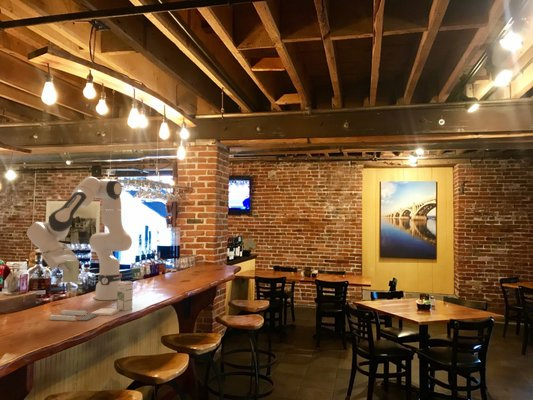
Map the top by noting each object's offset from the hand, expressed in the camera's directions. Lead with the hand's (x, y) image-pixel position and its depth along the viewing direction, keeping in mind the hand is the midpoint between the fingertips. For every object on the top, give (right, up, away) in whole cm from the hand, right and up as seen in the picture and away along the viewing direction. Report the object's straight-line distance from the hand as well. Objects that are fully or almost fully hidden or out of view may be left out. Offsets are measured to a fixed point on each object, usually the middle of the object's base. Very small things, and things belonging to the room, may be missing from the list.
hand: (72, 271), depth 191 cm
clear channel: (+2, -22, -1) cm, 22 cm away
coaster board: (+12, -23, +9) cm, 28 cm away
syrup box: (+19, -24, +18) cm, 35 cm away
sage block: (-1, -5, 0) cm, 5 cm away
